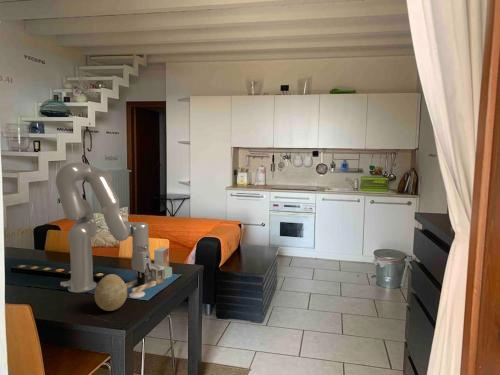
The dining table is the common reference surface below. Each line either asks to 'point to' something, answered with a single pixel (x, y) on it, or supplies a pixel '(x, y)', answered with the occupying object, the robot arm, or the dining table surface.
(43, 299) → the dining table surface
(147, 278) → the push bar
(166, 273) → the block
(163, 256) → the small box
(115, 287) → the fossilized egg
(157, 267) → the tunnel
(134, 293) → the coaster
